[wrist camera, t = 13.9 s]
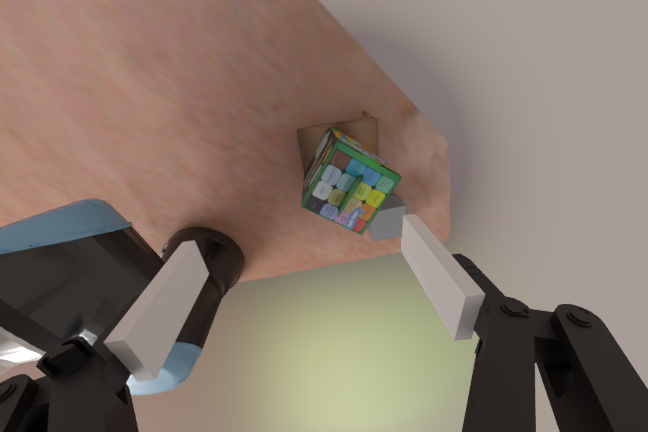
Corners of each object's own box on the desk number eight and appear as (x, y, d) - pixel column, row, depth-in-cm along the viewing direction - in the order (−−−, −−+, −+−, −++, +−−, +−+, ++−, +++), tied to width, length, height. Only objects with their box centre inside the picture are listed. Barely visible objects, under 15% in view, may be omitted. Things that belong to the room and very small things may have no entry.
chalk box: (349, 200, 41) (367, 253, 28) (301, 176, 39) (297, 222, 26) (380, 153, 38) (417, 189, 25) (329, 123, 35) (342, 146, 22)
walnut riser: (309, 197, 43) (310, 203, 41) (297, 128, 37) (296, 131, 35) (375, 187, 43) (379, 193, 41) (373, 117, 37) (377, 119, 35)
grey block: (367, 227, 47) (373, 241, 43) (364, 200, 44) (370, 212, 40) (397, 221, 47) (406, 235, 43) (396, 193, 44) (405, 205, 40)
